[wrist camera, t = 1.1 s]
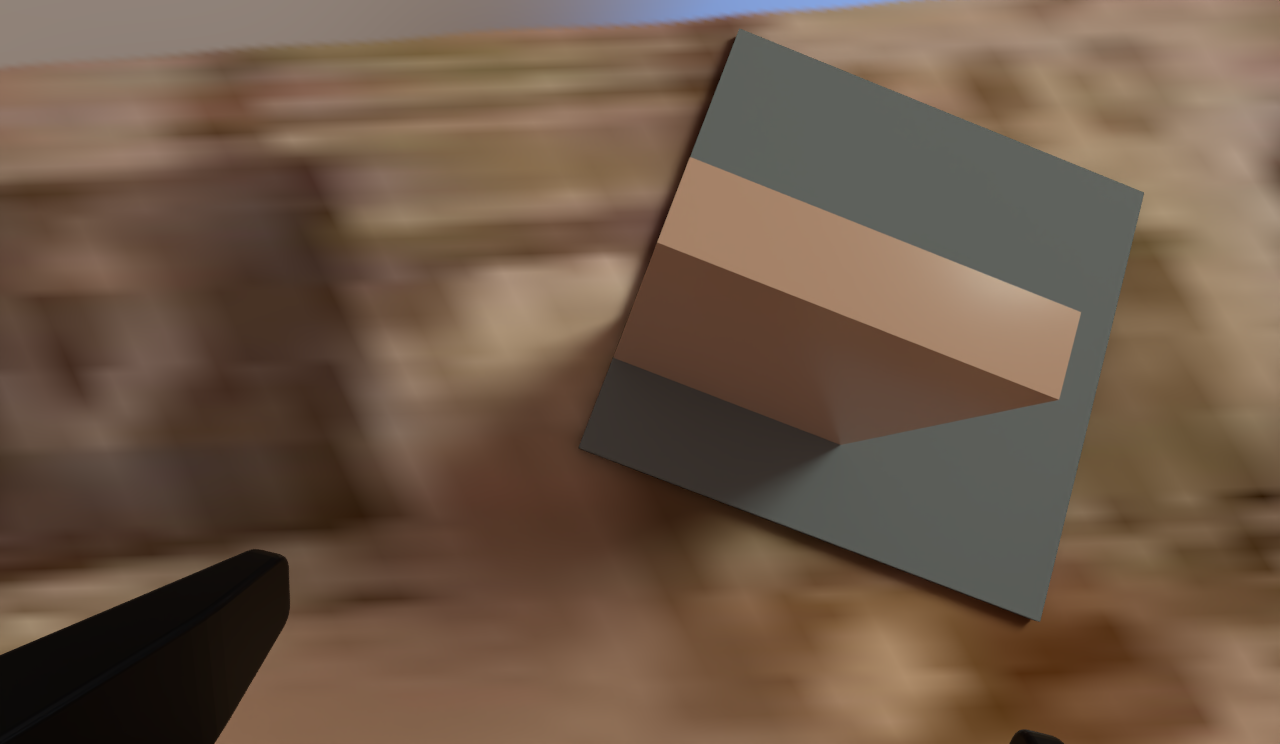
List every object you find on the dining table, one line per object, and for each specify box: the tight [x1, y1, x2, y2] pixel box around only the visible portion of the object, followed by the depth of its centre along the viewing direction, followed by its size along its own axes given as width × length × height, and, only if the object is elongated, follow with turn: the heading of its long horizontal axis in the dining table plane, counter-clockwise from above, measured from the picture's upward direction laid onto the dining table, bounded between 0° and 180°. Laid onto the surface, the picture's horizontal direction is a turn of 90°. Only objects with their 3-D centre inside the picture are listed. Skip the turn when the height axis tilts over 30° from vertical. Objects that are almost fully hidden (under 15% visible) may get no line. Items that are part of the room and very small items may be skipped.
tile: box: [613, 157, 1081, 445], centre depth 19 cm, size 2×8×11 cm, turn 70°
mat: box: [579, 29, 1144, 622], centre depth 26 cm, size 16×16×1 cm
